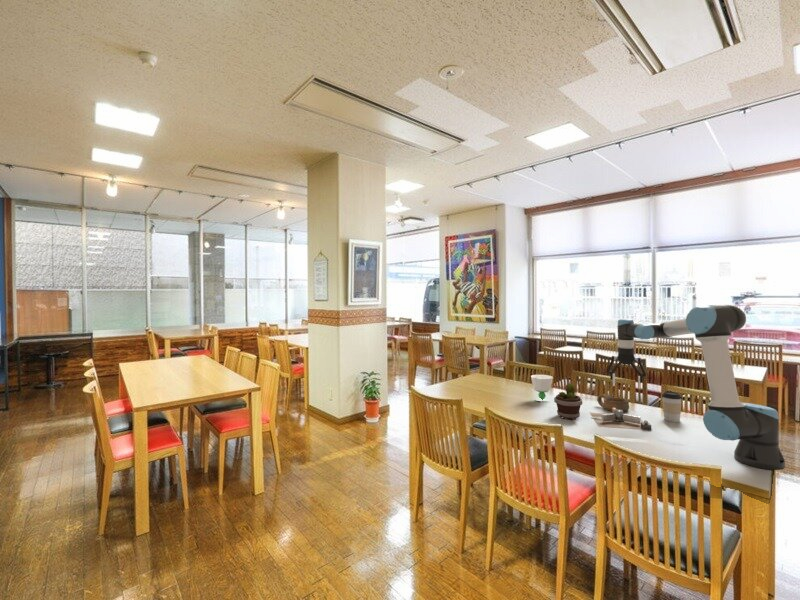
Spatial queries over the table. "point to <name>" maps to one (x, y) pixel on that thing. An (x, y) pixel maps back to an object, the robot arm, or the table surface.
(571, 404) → the flowerpot
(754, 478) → the table surface
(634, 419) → the grey cross-shaped piece
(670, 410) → the coffee cup
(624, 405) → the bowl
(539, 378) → the cup
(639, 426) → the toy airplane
